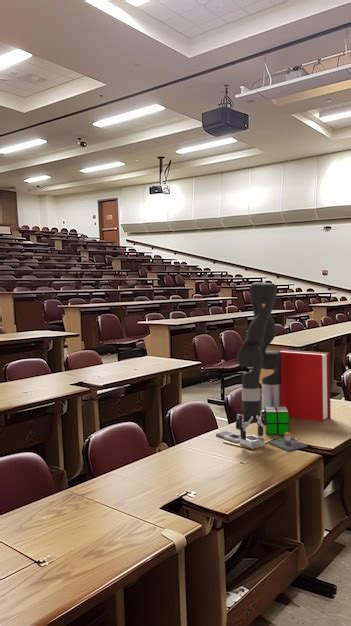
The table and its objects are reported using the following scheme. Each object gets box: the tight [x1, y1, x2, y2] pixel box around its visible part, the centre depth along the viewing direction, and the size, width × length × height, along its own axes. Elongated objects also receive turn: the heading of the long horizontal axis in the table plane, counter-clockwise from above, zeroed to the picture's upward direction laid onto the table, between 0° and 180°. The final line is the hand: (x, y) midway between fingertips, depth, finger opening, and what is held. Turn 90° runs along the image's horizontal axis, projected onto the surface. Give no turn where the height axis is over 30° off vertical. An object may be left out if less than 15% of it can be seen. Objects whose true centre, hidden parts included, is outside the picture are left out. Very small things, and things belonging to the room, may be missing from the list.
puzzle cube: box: [263, 407, 290, 436], centre depth 215 cm, size 10×10×10 cm
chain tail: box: [215, 430, 241, 444], centre depth 207 cm, size 13×6×1 cm, turn 37°
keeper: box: [268, 431, 308, 452], centre depth 196 cm, size 12×10×5 cm
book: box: [272, 349, 332, 423], centre depth 239 cm, size 27×8×32 cm, turn 48°
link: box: [239, 433, 265, 450], centre depth 197 cm, size 8×6×3 cm
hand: (252, 437), depth 197 cm, fingers open, 8 cm apart
